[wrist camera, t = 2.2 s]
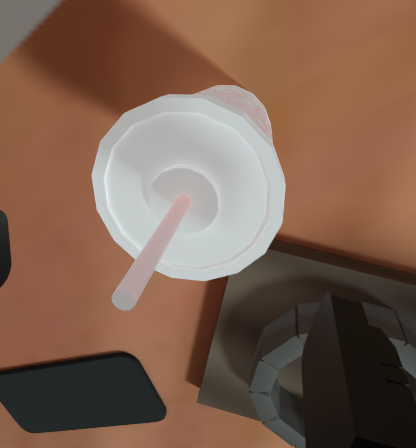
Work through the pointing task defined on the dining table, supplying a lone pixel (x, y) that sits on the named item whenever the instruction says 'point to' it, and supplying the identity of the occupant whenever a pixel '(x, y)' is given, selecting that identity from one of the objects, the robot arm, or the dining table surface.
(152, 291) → the dining table surface
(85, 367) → the phone
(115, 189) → the beverage cup
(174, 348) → the dining table surface
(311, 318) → the ring holder
